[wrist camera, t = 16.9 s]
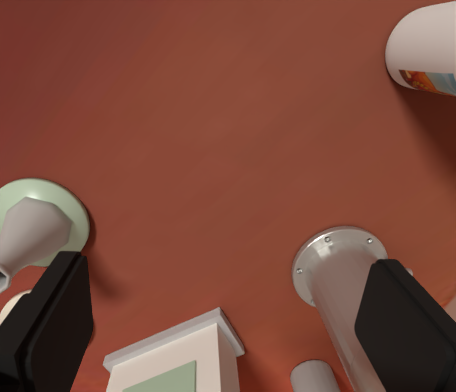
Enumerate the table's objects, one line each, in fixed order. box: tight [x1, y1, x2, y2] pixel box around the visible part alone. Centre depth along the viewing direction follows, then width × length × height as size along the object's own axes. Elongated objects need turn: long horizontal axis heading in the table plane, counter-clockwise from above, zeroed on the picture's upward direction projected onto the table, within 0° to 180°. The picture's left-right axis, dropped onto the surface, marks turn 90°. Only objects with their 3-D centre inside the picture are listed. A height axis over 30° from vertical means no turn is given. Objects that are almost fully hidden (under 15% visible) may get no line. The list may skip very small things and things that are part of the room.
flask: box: [0, 196, 72, 293], centre depth 35 cm, size 7×7×10 cm
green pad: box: [0, 178, 90, 267], centre depth 40 cm, size 11×11×1 cm
